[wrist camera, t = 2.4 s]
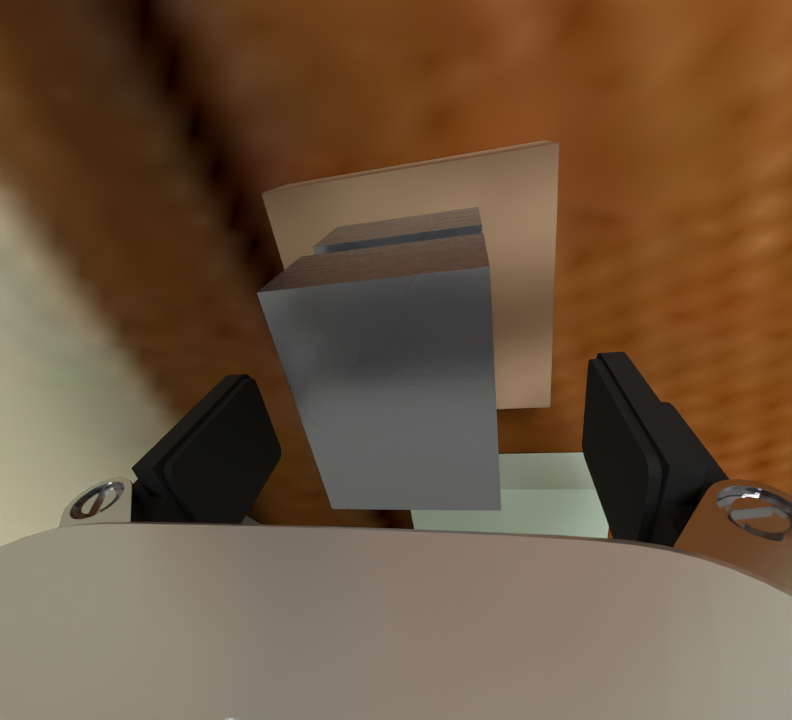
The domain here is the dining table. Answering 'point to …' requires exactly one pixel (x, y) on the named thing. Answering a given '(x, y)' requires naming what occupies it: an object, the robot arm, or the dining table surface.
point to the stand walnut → (501, 224)
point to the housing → (394, 362)
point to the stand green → (532, 500)
